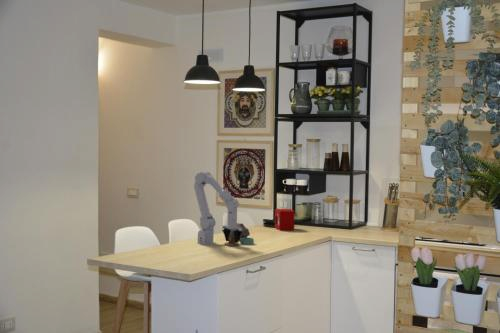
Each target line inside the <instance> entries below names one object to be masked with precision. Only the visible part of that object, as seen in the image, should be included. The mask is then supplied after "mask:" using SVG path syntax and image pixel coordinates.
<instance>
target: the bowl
mask: <svg viewBox="0 0 500 333" xmlns="http://www.w3.org/2000/svg"><path fill="white" fill-rule="evenodd" d="M239 244H240V245H242V246H244V245H245V246H247V245H248V246H250V245H251V246H252V245H254V237H247V238H240V240H239Z"/></svg>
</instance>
